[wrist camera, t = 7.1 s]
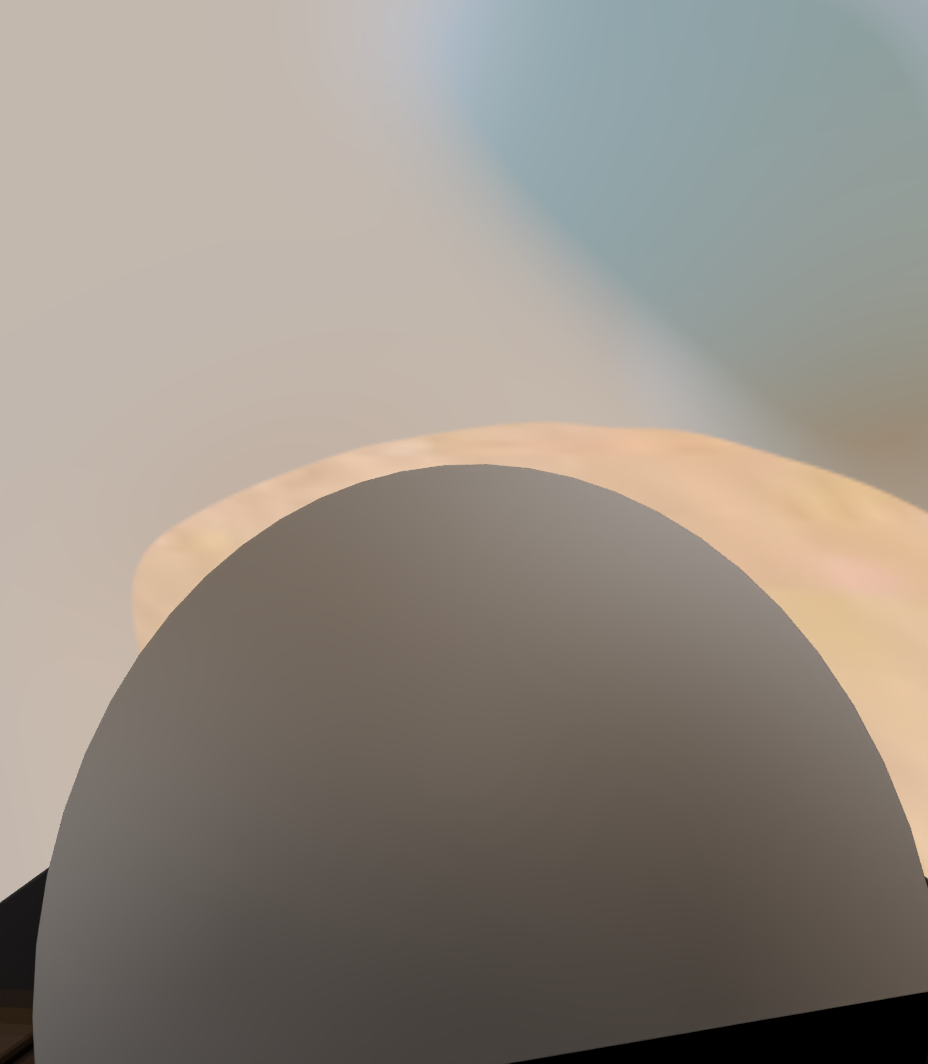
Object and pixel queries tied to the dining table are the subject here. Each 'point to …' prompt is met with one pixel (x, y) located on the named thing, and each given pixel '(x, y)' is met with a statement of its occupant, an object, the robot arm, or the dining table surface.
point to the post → (481, 807)
